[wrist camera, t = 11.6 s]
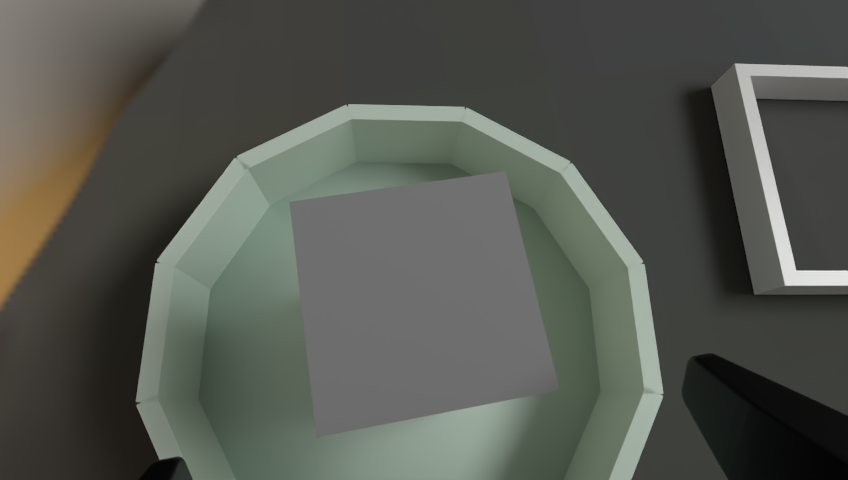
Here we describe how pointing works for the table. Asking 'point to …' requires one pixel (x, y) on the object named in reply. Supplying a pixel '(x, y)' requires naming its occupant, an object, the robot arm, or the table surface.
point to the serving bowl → (284, 330)
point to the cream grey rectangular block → (417, 302)
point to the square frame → (770, 169)
